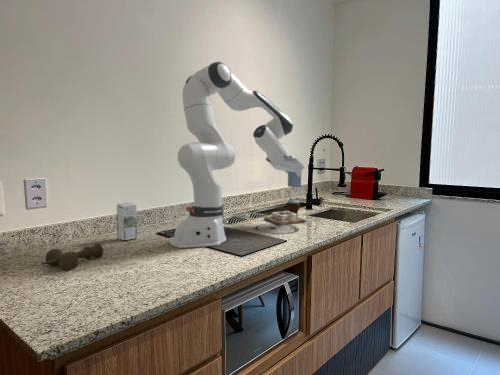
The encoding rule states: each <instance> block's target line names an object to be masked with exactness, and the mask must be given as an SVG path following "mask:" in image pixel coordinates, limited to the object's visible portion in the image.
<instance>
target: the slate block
mask: <svg viewBox="0 0 500 375" xmlns="http://www.w3.org/2000/svg"><path fill="white" fill-rule="evenodd" d="M300 174H301V176H300V177H297V176H296V173H294V172H290V171H288V174H287V187H291V188H301V187H302V172H301V173H300Z"/></svg>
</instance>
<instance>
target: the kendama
mask: <svg viewBox="0 0 500 375" xmlns="http://www.w3.org/2000/svg"><path fill="white" fill-rule="evenodd" d="M103 255H104V248H103V246H102V244H100V243H97V242H96V243H94V244H93V245H92V246H85V247H83V248H82V249H81V250H79V251H77V252H75V251H73V250H71V251H70V250H69V251H67V252H65V253H63V252H62V250H61V249H59V248H52V249H50V250H49V251H47V253H46V254H45V261H43V262H41V266H45V265H47V266H49V267H55V266H58V265H60V268H61V270H63V271H65V272H69V271H72V270H75V269H76V268H77V267H78V265H79V263H80V262H79V260H80V259H85V260H91V259H92V258H97V259H98V258H102V257H103Z"/></svg>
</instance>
